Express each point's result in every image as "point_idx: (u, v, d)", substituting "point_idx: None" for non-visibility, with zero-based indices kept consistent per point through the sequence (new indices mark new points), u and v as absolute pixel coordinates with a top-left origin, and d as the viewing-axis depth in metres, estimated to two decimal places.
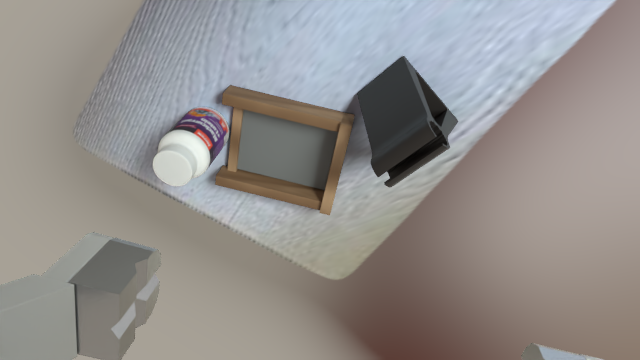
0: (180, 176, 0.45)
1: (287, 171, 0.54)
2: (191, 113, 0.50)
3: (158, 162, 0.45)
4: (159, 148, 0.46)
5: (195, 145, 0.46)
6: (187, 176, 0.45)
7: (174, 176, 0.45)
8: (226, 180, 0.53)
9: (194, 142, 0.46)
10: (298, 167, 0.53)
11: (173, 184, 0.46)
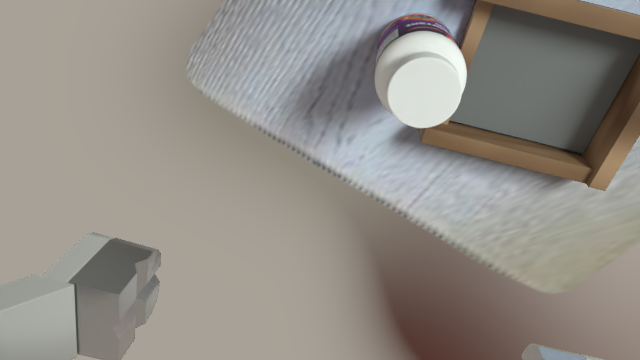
0: (435, 108, 0.25)
1: (530, 123, 0.35)
2: (410, 18, 0.30)
3: (401, 81, 0.25)
4: (384, 64, 0.27)
5: (455, 57, 0.26)
6: (449, 108, 0.25)
7: (423, 108, 0.25)
8: (441, 135, 0.34)
9: (454, 51, 0.26)
10: (551, 116, 0.34)
11: (418, 123, 0.26)
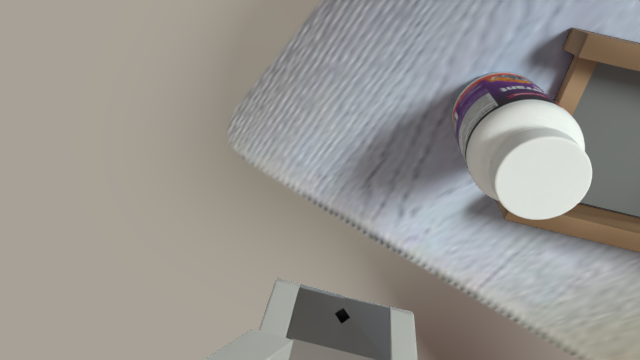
0: (556, 197, 0.20)
1: (632, 195, 0.29)
2: (499, 79, 0.26)
3: (515, 165, 0.20)
4: (483, 139, 0.22)
5: (573, 132, 0.21)
6: (574, 197, 0.20)
7: (541, 196, 0.20)
8: None
9: (573, 125, 0.21)
10: None
11: (532, 214, 0.21)
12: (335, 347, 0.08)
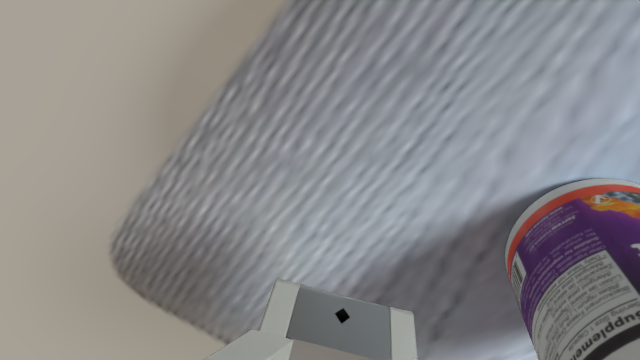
0: None
1: None
2: (615, 208, 0.13)
3: None
4: None
5: None
6: None
7: None
8: None
9: None
10: None
11: None
12: (335, 347, 0.08)
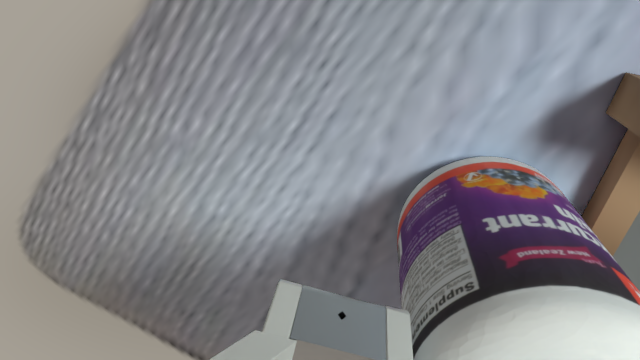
0: None
1: None
2: (482, 184, 0.12)
3: None
4: None
5: None
6: None
7: None
8: None
9: None
10: None
11: None
12: (338, 348, 0.08)
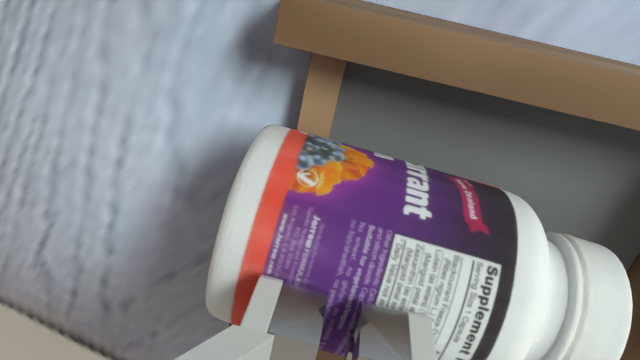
0: None
1: None
2: (333, 179, 0.10)
3: None
4: (532, 342, 0.10)
5: None
6: None
7: None
8: None
9: None
10: None
11: None
12: (316, 342, 0.08)
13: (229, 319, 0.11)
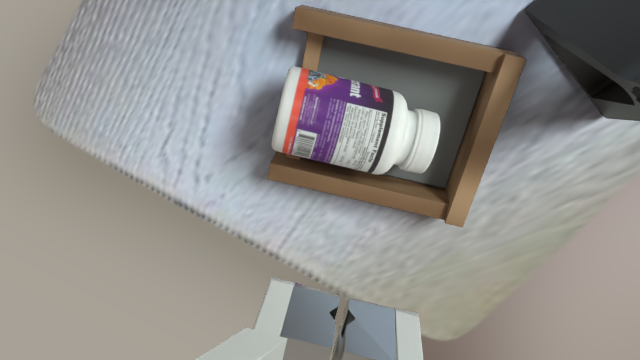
0: None
1: None
2: (322, 84, 0.27)
3: None
4: (400, 142, 0.27)
5: None
6: None
7: None
8: (287, 171, 0.32)
9: None
10: None
11: None
12: (329, 346, 0.08)
13: (282, 144, 0.27)
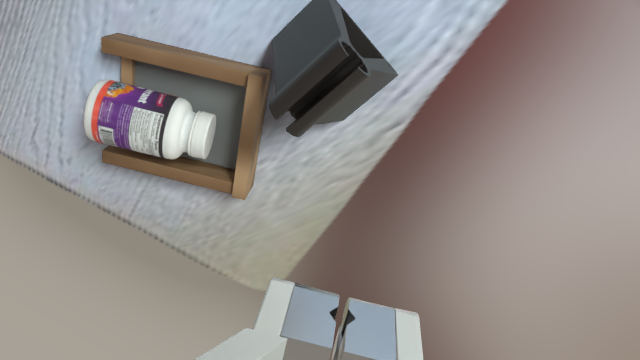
0: (211, 139, 0.41)
1: None
2: (118, 93, 0.37)
3: (207, 139, 0.39)
4: (176, 136, 0.38)
5: (191, 106, 0.40)
6: (213, 134, 0.42)
7: (210, 143, 0.41)
8: (115, 156, 0.42)
9: (189, 103, 0.40)
10: None
11: (208, 152, 0.41)
12: (329, 345, 0.08)
13: (92, 136, 0.38)
